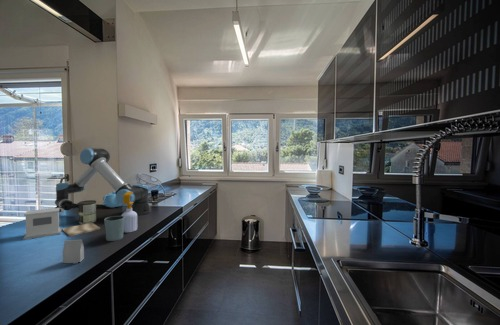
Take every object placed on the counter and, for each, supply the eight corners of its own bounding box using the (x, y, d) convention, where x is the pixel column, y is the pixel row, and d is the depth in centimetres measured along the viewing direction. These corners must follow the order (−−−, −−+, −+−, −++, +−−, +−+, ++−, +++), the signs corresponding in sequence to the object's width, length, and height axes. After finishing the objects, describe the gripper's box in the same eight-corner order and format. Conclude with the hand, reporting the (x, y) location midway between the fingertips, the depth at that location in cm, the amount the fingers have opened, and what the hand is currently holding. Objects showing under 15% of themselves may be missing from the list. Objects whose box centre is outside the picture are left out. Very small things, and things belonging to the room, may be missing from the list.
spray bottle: (140, 228, 151) (139, 191, 150) (131, 233, 142) (131, 193, 141) (127, 227, 152) (126, 190, 151) (118, 232, 143) (117, 193, 142)
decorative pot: (99, 208, 198) (99, 193, 197) (110, 204, 214) (109, 189, 213) (119, 208, 199) (119, 193, 198) (128, 204, 215) (127, 189, 214)
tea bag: (80, 262, 104) (80, 241, 104) (63, 264, 103) (62, 242, 102) (84, 259, 108) (83, 238, 108) (67, 260, 106) (66, 239, 106)
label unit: (61, 229, 146) (60, 207, 146) (60, 234, 138) (59, 210, 138) (26, 234, 137) (25, 210, 136) (23, 239, 129) (22, 214, 128)
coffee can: (75, 223, 157) (74, 203, 157) (84, 219, 168) (84, 200, 167) (91, 223, 158) (90, 203, 158) (99, 219, 169) (99, 200, 168)
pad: (91, 224, 158) (91, 222, 158) (100, 229, 148) (100, 227, 147) (62, 230, 145) (62, 228, 145) (69, 236, 135) (69, 234, 135)
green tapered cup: (110, 243, 127) (109, 221, 126) (100, 239, 132) (100, 218, 131) (128, 237, 135) (127, 217, 135) (118, 233, 141) (118, 214, 140)
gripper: (85, 206, 187) (95, 211, 174) (44, 212, 167) (52, 218, 154) (85, 197, 186) (95, 201, 173) (44, 202, 167) (52, 207, 154)
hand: (75, 209), depth 164 cm, fingers open, 13 cm apart
